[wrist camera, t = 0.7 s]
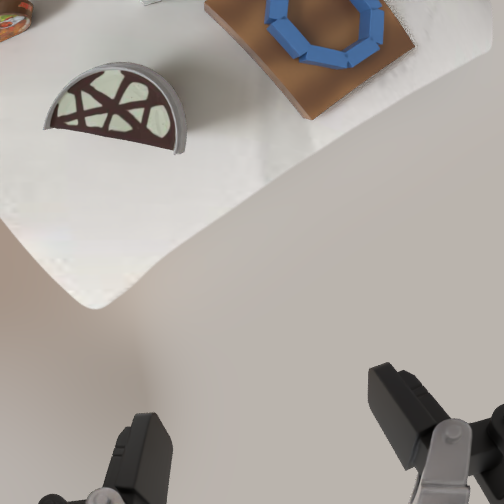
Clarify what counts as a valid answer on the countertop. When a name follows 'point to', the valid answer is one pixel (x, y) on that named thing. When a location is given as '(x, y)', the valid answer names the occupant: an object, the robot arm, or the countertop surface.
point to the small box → (148, 1)
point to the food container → (122, 106)
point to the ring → (320, 56)
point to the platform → (316, 33)
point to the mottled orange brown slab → (14, 17)
